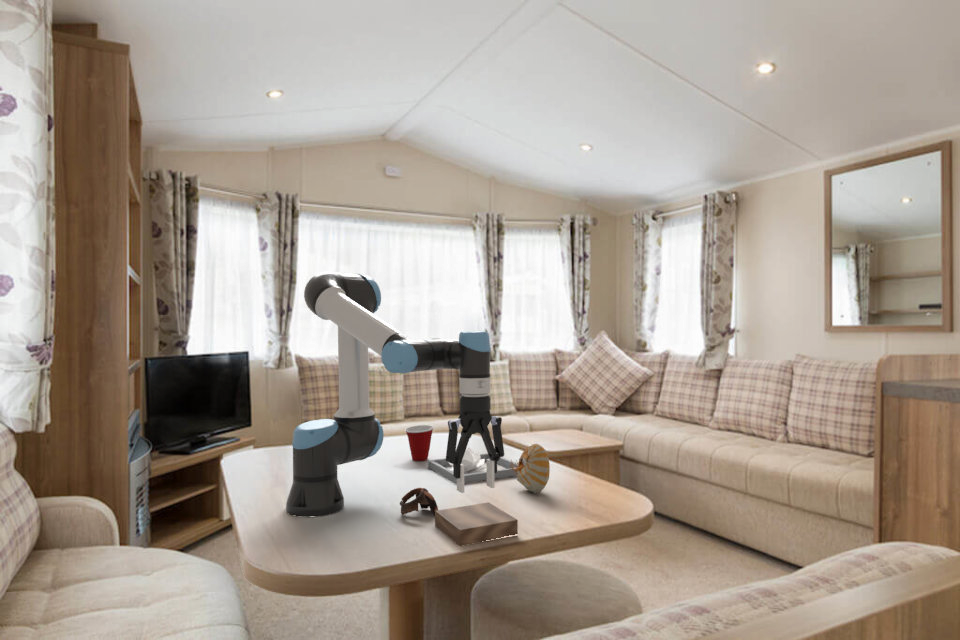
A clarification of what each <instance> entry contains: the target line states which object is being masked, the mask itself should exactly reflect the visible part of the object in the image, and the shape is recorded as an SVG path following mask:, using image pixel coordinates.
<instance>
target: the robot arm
mask: <svg viewBox="0 0 960 640" xmlns="http://www.w3.org/2000/svg"><path fill="white" fill-rule="evenodd" d="M303 291H304V292H303V293H304V294H303V298H304V301H305V304H306V307H307V308H308V309H309V311H311V312H312V313H313V314H314V315H316V316H317V317H319V318H320V319H321V320H325V321H331V322H332V323H334V324H335V325H336V327H337V352H338V355H337V356H338V359H337V360H338V363H337V364H338V410H337V411H336V412H335V413H334V415H333V419H332V418H321V419H313V420H310V421H309V420H308V421H307V422H303V423H301V424H299V425H297V426H296V427H295V428H294V430H293V434H292V443H291V445H292V446H291V447H292V484H291V488H290V490H289V494H288V497H287V499H286V503H285V507H286V508H285V512H286V511H287V512H286V513H287V514H288V513H289V514H288V515H290V514H291V515H290V516H293V515H296V516H295V517H298V516H320V517H325V515H326V516H329V514H330V515H333V514H336V513H339V512H341V511H342V510H343V509H344V507H345V498H344V495H343V492H342V489H341V488H342V487H341V486H340V482H339V480H338V466H339V465H345V464H348V463H349V464H350V463H353V462H356V461H363V460H366V459H368V458H371V457H373V456H375V455H376V454H377V453H378V451H380V449H381V448H382V445H383V441H384V436H385V435H384V429H383V425H381V421H380V420H379V419H377V418H376V417H375V416H376V414H375V412H374V410H373V409H372V408H370V407H371V406H370V376H369V374H370V373H369V372H370V371H369V369H370V367H369V365H370V364H369V349H370V350H372V351H373V352H374V353H375V354H378V355H379V356H380V358H381V363H382V365H383V366H384V368H385V370H386V371H387V372H390V373H392V374H402V375H403V374H409V373H415V372H422V371H433V370H458V373H459V394H461V395H460V396H459V416H458V418H457V419H453V420H451V419H449V420H448V421H447V425H448V437H447V446H446V453H445V458H446V461H447V462H449V463H452V464H453V475H454V477H455V478H457V484H456V491H458V492H459V493H461V494H463V493H465V483H464V465H463V464H461V462H462V459H463V456H464V453H465V451H466V450H467V449H468V448H467V447H468V444H469V441H470V439H471V438H472V435H475V434H479V435H480V436H481V439H482V442H483V444H484V447H485V450H486V453H488V455H489V457H490V459H486V461H485V462H486V463H485V464H486V465H485V467H487V470H486V472H487V480H486V486H487V487H489V488H490V489H494V488H495V485H496V484H495V479H494V473H497V470H498V464H497V461H499V459H500V457H503V458H504V456H505V450H504V443H503V433H502V427H501V426H502V421H503V419H502V417H500V416H496V415H494V416H493V415H491V409H492V408H491V407H492V406H491V404H492V403H491V396H490V393H491V370H490V369H491V349H492V347H491V344H490V343H491V342H490V334H489V332H487V331H481V330H480V331H479V330H478V331H475V330H474V331H471V330H470V331H460V332H459V335H458V339H456V338H455V339H452V338H439V337H437V338H429V339H412V338H410V337H409V336H407V335H405V334H404V333H402V331H399V330H398V329H396V328H394V326H392V325H390V324H389V323H388V322H386V321H384V320H382V319H381V318H379V317H378V316H377V315H375V314H374V313H376V312H377V311H378V310H379V307H380V306H381V302H382V293H381V288H380V287H379V284H378V283H377V282H376V281H375V279H374V278H372V277H371V276H369V275H365V274H361V273H349V272H348V273H347V272H333V271H324V272H320V273H316V274H315V275H314V276H312V277H311V278H310V279H309V280H308V281H307V283H306V285H305V287H304V290H303ZM490 424H491V429H492V430H491V431H492V438H493V440H492V438H491V435H490V434H491V432H490V431H489V428H488V427H489V425H490ZM460 426H461V427H462V428H461V432H460V437H459V440H458V435H459V432H458V431H459V428H460ZM457 443H458V444H457Z"/></svg>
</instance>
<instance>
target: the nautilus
mask: <svg viewBox="0 0 960 640" xmlns="http://www.w3.org/2000/svg"><path fill="white" fill-rule="evenodd" d="M510 461H511V464H512V463H513V462H515V461H516V462H515V463H517V464H518V467H517V468H516V469H513V466H512V467H511V468H512V469H513V470H514V471H515V472H517V473H515V474H517V476H516V481H517V482H519V484H520V485H522V486H523V487H524V488H525V489H526V490H528V491H529V492H531V491H532V493H534V492H536V493H535V494H538V493H541V492H542V491H543V490H544V489H545V488H546V485H547V484H548V481H549V479H550V471H551V469H550V466H551V465H550V458H549V453H548V452H547V451H546V449H545V448H544V447H543V446H542V445H541V444H539V443H533V444H531V445H530V446H528V447H527V448H525V450H523V451H522V453H521V455H520V457H519V459H518V460H515V461H512V459H510ZM513 465H514V464H513ZM510 466H511V465H510ZM514 466H515V465H514ZM516 466H517V465H516ZM516 466H515V467H516Z"/></svg>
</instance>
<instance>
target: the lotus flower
mask: <svg viewBox="0 0 960 640" xmlns="http://www.w3.org/2000/svg"><path fill="white" fill-rule="evenodd" d="M480 454H481V453H480V452H476V453H474V451H473V449H472V448H471V447H470V446H469V447H468V448H466V451H465V453H464V456H463V459H462V462H461V464H463V465H464V475H465V474H473V473H480V472H487V467H486V466H483V465H485V464H486V463H485V462H486V461H485V459H481V460H480V458H481V457H480ZM448 463H449V462H448ZM449 464H450V465H451V468H450V469H449V470H450V471H452V472H453V464H452V463H449Z"/></svg>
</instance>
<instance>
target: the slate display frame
mask: <svg viewBox="0 0 960 640" xmlns="http://www.w3.org/2000/svg"><path fill="white" fill-rule="evenodd" d="M479 454H480V457H481V458H480V460H481V459H485V462H486V459H490V457H489V455H488V452H486V453H485V452H484V453H479ZM427 460H428V459H427ZM512 462H513V463H512V464H511V459H508V458H505V457H504V456H503V457H500V459H499V461H497V465H499V466H501V467H504V468H502V469H497V473H494V480H497V479H496V478H500V479H504V478H503V477H506V478H510V477H509V476H513V477H517V476H516V475H517V474H515V473H517V472H515V471H514V470H513V469H516V468H517V467H518V464H517V463H518V462H516V463H515V461H512ZM513 464H514V465H515V466H516V465H517V466H516V467H515V466H514V465H513ZM510 465H511V466H510ZM449 466H451V465H450V464H449V463H448V462H447V461H446V457H444V458H443V457H442V458H438V459H436V458H435V459H429V460H428V461H427V468H428V469H430V470H432V471H433V472H435V473H436V474H439V475H440V476H442V477H444V478H446V479H448V480H449V481H451V482H453V483H454V484H456V485H457V478H455V477H454V475H453V472H452V471H450V470H449V469H448V468H447V467H449ZM512 466H513V469H512V468H511V467H512ZM451 467H452V466H451ZM483 480H486V481H487V471H484V472H480V473H473V474H465V475H464V484H469V483H470V482H471V483H476V481H479V482H484V481H483Z"/></svg>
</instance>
